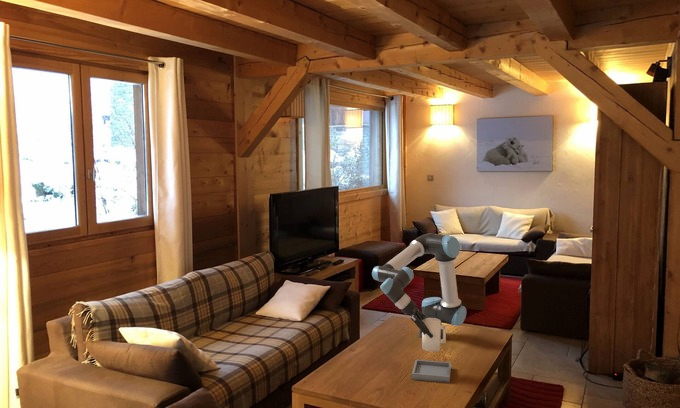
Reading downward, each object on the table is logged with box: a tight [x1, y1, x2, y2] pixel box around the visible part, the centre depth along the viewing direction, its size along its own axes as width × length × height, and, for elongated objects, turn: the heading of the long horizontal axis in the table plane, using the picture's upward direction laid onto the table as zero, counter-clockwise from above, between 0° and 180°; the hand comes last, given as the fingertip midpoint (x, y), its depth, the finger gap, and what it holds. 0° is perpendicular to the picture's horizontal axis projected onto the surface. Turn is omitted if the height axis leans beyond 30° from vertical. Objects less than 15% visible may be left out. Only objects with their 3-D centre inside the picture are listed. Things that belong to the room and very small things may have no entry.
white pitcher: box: [421, 318, 447, 352], centre depth 279 cm, size 9×12×14 cm
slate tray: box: [411, 359, 452, 384], centre depth 281 cm, size 18×18×3 cm
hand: (437, 338), depth 279 cm, fingers closed on white pitcher, 9 cm apart
